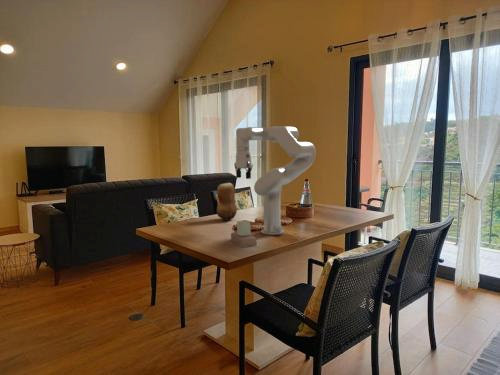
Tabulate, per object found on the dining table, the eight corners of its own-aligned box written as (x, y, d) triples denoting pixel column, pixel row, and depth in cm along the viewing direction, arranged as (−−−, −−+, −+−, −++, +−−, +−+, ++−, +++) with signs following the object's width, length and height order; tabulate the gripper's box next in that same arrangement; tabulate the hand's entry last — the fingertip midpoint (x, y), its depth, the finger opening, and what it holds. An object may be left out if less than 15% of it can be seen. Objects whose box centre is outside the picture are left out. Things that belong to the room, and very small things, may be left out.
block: (250, 234, 193) (250, 221, 192) (242, 236, 190) (242, 222, 189) (245, 232, 197) (245, 219, 196) (237, 234, 194) (236, 221, 193)
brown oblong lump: (213, 219, 253) (212, 183, 250) (229, 217, 261) (228, 181, 258) (224, 223, 242) (223, 184, 239) (241, 220, 250) (240, 182, 247)
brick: (257, 246, 188) (257, 237, 187) (242, 248, 184) (242, 239, 184) (244, 239, 203) (244, 230, 202) (230, 240, 199) (230, 232, 199)
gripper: (256, 149, 216) (257, 178, 218) (239, 149, 230) (240, 176, 232) (246, 149, 212) (247, 179, 214) (229, 149, 225) (230, 177, 228)
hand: (243, 178), depth 223 cm, fingers open, 9 cm apart
